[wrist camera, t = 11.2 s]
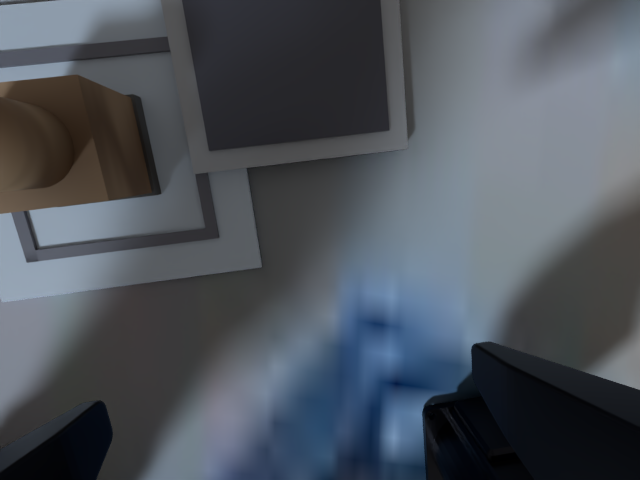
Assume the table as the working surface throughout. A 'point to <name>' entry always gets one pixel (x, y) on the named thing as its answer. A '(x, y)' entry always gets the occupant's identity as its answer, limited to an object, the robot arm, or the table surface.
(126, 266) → the board
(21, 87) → the stamp
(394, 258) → the table surface
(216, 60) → the ink pad
